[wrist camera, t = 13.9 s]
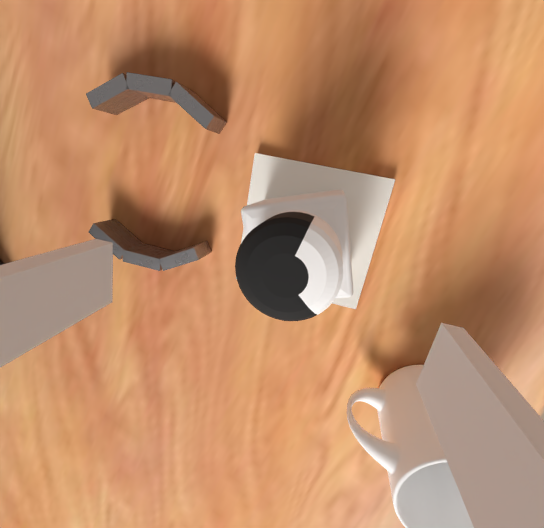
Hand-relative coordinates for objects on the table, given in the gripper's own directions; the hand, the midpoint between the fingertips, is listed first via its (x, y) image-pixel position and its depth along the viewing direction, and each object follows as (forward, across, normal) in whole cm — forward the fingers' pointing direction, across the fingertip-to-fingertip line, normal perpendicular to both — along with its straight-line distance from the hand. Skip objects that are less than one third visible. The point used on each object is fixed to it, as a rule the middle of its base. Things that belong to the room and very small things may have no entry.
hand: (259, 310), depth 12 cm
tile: (+17, +1, 0) cm, 17 cm away
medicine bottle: (+16, +1, 0) cm, 17 cm away
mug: (+17, +14, -14) cm, 26 cm away
